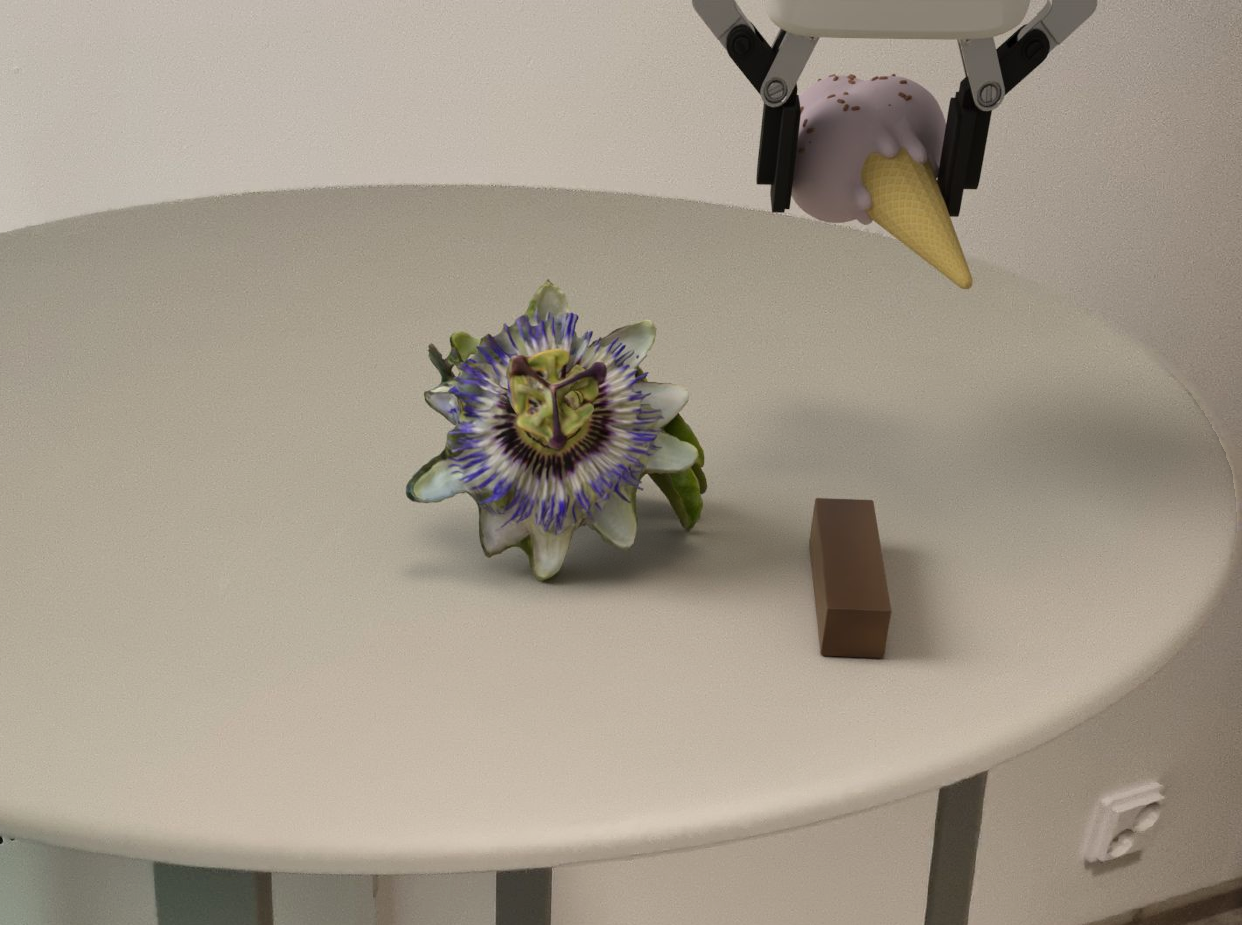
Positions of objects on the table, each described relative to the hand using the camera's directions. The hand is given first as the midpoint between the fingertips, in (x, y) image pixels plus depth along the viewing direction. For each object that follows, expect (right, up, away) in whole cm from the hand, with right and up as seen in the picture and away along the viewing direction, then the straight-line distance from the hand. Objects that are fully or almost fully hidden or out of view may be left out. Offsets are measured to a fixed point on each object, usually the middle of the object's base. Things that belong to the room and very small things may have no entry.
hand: (863, 201), depth 80 cm
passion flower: (-13, -14, +2) cm, 19 cm away
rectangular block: (-2, -18, -3) cm, 18 cm away
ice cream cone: (+1, -1, +1) cm, 2 cm away
